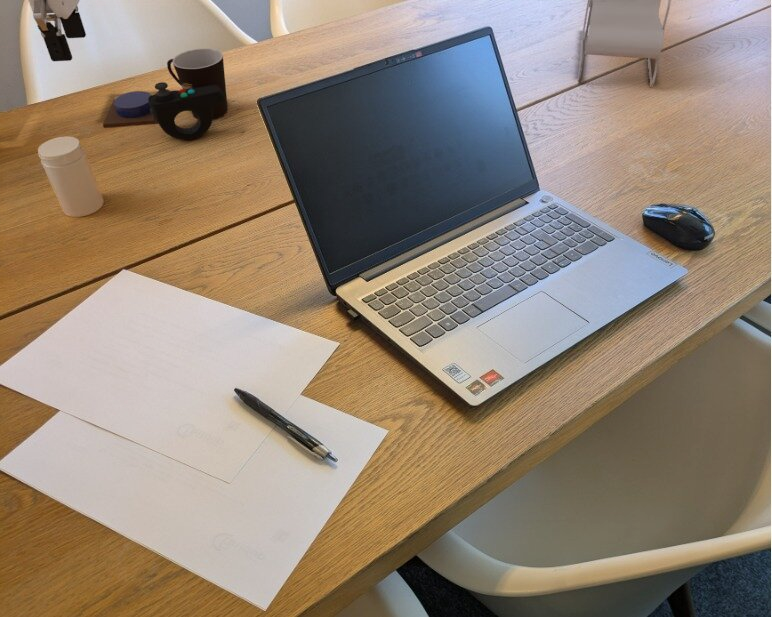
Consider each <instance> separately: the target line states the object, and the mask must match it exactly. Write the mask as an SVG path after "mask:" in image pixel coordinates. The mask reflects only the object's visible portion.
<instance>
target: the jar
mask: <svg viewBox="0 0 772 617" xmlns="http://www.w3.org/2000/svg"><path fill="white" fill-rule="evenodd" d="M37 154H38V157H39V158H40V164H41V166H42V167H43V170H44V172H45V175H46V177H47V179H48V181H49V183H50V186H51V188H52V191H53V192H54V194H55V197H56V199H57V201H58V204H59V206H60V208H61V210H62V213H63V214H64V215H66V217H67V216H68V217H70V218H80V217H81V218H82V217H85V216H89V215H92V214H94V213H97V211H99V210H100V209H102V207H103V205H104V202H105V199H104V197H103V195H102V192H101V189H100V187H99V184H98V181H97V179H96V177H95V174H94V171H93V169H92V166H91V164H90V161H89V159H88V156H87V154H86V151H85V149H84V148H83V147H82V144H81V142H80V139H78V138H76V137H74V136H58V137H54V138H50V139H49V140H47V141H44V142H43V143H42V144H40V145H39V146H38V148H37Z"/></svg>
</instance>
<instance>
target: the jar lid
mask: <svg viewBox="0 0 772 617" xmlns="http://www.w3.org/2000/svg"><path fill="white" fill-rule="evenodd" d="M151 95H152V94H151V93H150V92H148V91H143V90H134V91H129V92H125V93H122V94H121V95H118V96H117V97H116V98H114V99H115V100H114V99H113V100H114V106H115V110H116V113H117V114H118V115H119V116H121V117H125V118H134V117H140V116H144V115H146V114H148V113H150V108H152V107H151V106H150V105H149V101H148V98H149V97H150V96H151Z"/></svg>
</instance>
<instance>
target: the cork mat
mask: <svg viewBox="0 0 772 617" xmlns="http://www.w3.org/2000/svg"><path fill="white" fill-rule="evenodd" d="M115 99H116V98H114V99H113V100H112V102H111V104H110V107H109V109H108V112H107V114H106V116H105V118H104V121H103V123H102V126H103V128H113V127H126V126H127V127H128V126H138V125H150V124H151V125H152V124H158V122H157V120H153V117H152V114H151V112H150V113H148V114H146V115H144V116H140V117H134V118H125V117H121V116H119V115H118V114H117V113H116V110H115V106H114V100H115Z"/></svg>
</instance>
